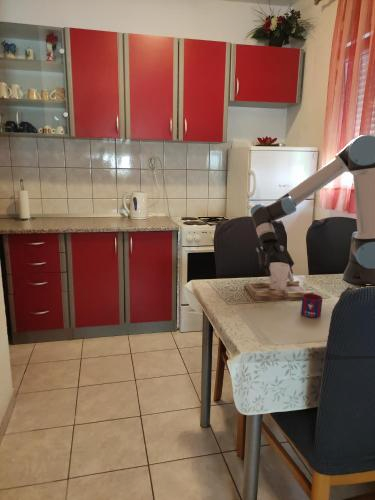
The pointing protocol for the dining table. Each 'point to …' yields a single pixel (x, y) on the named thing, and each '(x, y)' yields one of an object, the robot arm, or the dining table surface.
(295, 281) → the wooden tray
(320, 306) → the mug
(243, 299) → the dining table surface
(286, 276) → the white cup
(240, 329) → the dining table surface
